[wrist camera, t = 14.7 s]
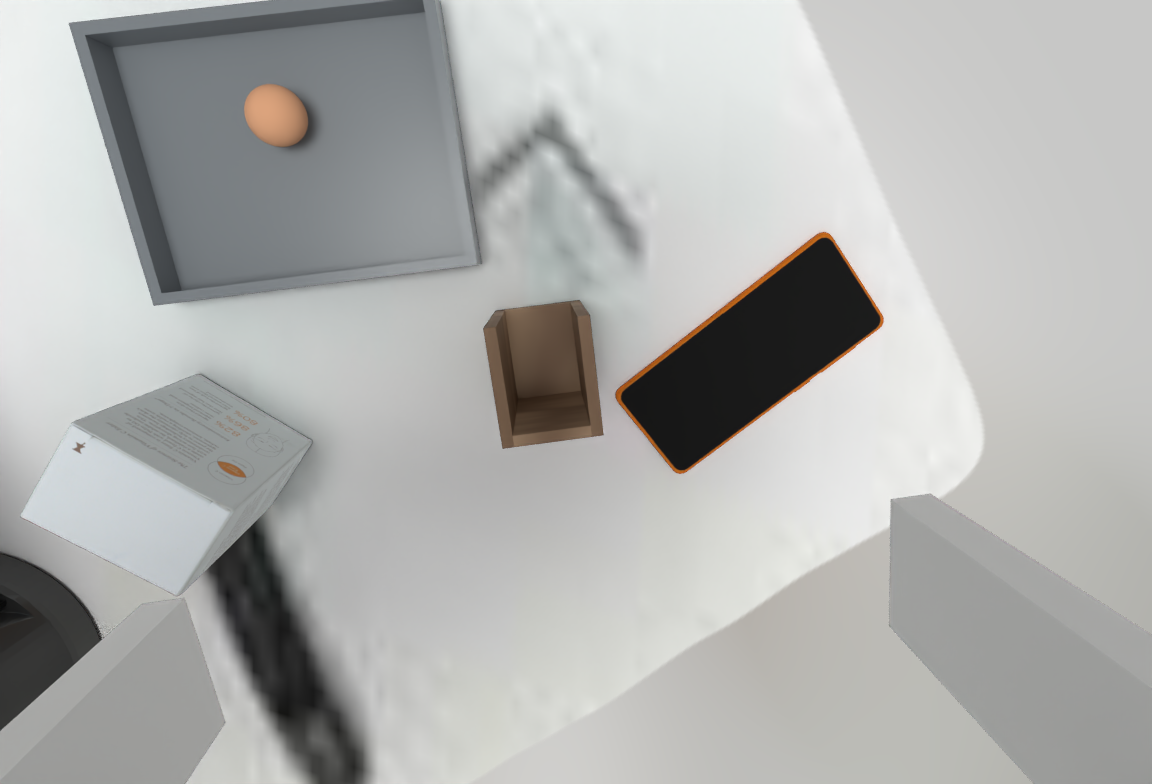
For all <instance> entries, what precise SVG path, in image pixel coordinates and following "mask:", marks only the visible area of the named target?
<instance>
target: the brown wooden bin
mask: <svg viewBox="0 0 1152 784" xmlns="http://www.w3.org/2000/svg"><path fill="white" fill-rule="evenodd" d="M483 330H484V336H485V342H486V348H487V355H488V361H489V367H490V373H491V380H492V386H493V392H494V398H495V404H496V411H497V417H498V423H499V429H500V436H501V442H502V448H503V449H504V448H511V447H519V446H526V445H534V444H541V443H549V442H556V441H564V440H571V439H579V438H586V437H594V436H601V435H603V426H602V417H601V409H600V400H599V391H598V382H597V374H596V365H595V356H594V347H593V339H592V330H591V321H590V315H589V313H588V312H587V310H586V309H585V308H584V306H583V305H582V303H581V302H580V301H579V300H576V301H568V302H561V303H553V304H545V305H537V306H529V307H521V308H513V309H506V310H498V311H495V312H494V314H493V315H492V317H491V318H490V320H489V321H488V322H487V324H486V325H485V327H484V328H483Z"/></svg>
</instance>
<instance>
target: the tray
mask: <svg viewBox="0 0 1152 784" xmlns="http://www.w3.org/2000/svg"><path fill="white" fill-rule="evenodd" d="M69 26H70V29H71V32H72V36H73V39H74V42H75V46H76V49H77V52H78V56H79V59H80V62H81V66H82V69H83V72H84V76H85V79H86V82H87V85H88V89H89V92H90V95H91V99H92V102H93V105H94V109H95V112H96V115H97V119H98V122H99V125H100V129H101V132H102V135H103V139H104V142H105V145H106V149H107V152H108V155H109V159H110V162H111V165H112V169H113V172H114V175H115V179H116V182H117V185H118V189H119V192H120V195H121V199H122V202H123V205H124V209H125V212H126V215H127V219H128V222H129V225H130V229H131V232H132V235H133V238H134V242H135V245H136V248H137V252H138V255H139V258H140V262H141V265H142V268H143V272H144V275H145V278H146V282H147V285H148V288H149V292H150V295H151V298H152V302H153V305H154V306H155V305H163V304H171V303H179V302H187V301H195V300H203V299H211V298H218V297H226V296H234V295H242V294H250V293H258V292H266V291H274V290H282V289H290V288H298V287H306V286H314V285H322V284H330V283H338V282H346V281H354V280H362V279H370V278H377V277H385V276H393V275H401V274H409V273H417V272H425V271H433V270H441V269H449V268H457V267H465V266H473V265H479V264H482V263H481V256H480V250H479V244H478V237H477V231H476V225H475V218H474V212H473V206H472V199H471V193H470V187H469V180H468V174H467V168H466V161H465V155H464V149H463V142H462V136H461V130H460V123H459V117H458V111H457V104H456V98H455V92H454V85H453V79H452V73H451V66H450V60H449V54H448V47H447V41H446V35H445V28H444V22H443V16H442V9H441V3H440V0H269V1H260V2H251V3H242V4H233V5H224V6H215V7H206V8H197V9H188V10H179V11H171V12H162V13H153V14H144V15H135V16H126V17H117V18H108V19H99V20H90V21H81V22H73V23H69ZM265 84H276V85H280V86H283V87H285V88H287V89H289V90H290V91H292V92H293V93H294V94H295V95H296V96H297V97H298V98H299V99H300V100H301V102H302V103H303V105H304V107H305V109H306V112H307V116H308V127H307V131H306V133H305V135H304V137H303V138H302V139H301V140H300V141H299V142H298V143H296V144H294V145H292V146H288V147H277V146H273V145H270V144H267V143H265V142H264V141H262V140H261V139H259V138H258V137H257V136H256V135H255V134H254V133H253V132H252V131H251V129H250V128H249V126H248V124H247V121H246V118H245V114H244V105H245V101H246V98H247V96H248V95H249V93H250V92H251V91H252V90H253V89H255V88H256V87H258V86H261V85H265Z"/></svg>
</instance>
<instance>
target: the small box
mask: <svg viewBox="0 0 1152 784" xmlns="http://www.w3.org/2000/svg"><path fill="white" fill-rule="evenodd" d="M311 444H312V440H310V439H308V438H307V437H305V436H303V435H301V434H300V433H298V432H296V431H295V430H293V429H291V428H290V427H288V426H286V425H285V424H283V423H281V422H280V421H278V420H276V419H274V418H273V417H271V416H269V415H268V414H266V413H264V412H262V411H261V410H259V409H257V408H256V407H254V406H252V405H251V404H249V403H247V402H246V401H244V400H242V399H241V398H239V397H237V396H235V395H234V394H232V393H230V392H229V391H227V390H225V389H224V388H222V387H220V386H218V385H217V384H215V383H213V382H212V381H210V380H208V379H207V378H205V377H203V376H202V375H200V374H196V375H193V376H191V377H188V378H186V379H183V380H181V381H178V382H176V383H173V384H170V385H168V386H165V387H163V388H160V389H158V390H155V391H152V392H150V393H147V394H145V395H142V396H139V397H136V398H134V399H131V400H129V401H126V402H124V403H121V404H118V405H115V406H113V407H110V408H107V409H105V410H102V411H100V412H97V413H95V414H92V415H89V416H87V417H84V418H82V419H79V420H76V421H74V422H72V423H71V425H70V427H69V428H68V430H67V432H66V434H65V436H64V437H63V439H62V441H61V442H60V444H59V446H58V448H57V450H56V451H55V453H54V455H53V457H52V459H51V460H50V462H49V464H48V466H47V467H46V469H45V471H44V473H43V475H42V477H41V478H40V480H39V482H38V484H37V486H36V487H35V489H34V491H33V493H32V494H31V496H30V498H29V500H28V502H27V504H26V506H25V508H24V510H23V511H22V513H21V515H20V517H21V518H23V519H25V520H27V521H29V522H31V523H33V524H35V525H37V526H39V527H41V528H43V529H45V530H47V531H49V532H51V533H53V534H55V535H57V536H59V537H61V538H63V539H65V540H67V541H69V542H71V543H73V544H75V545H77V546H79V547H81V548H83V549H85V550H87V551H89V552H91V553H93V554H95V555H97V556H99V557H101V558H103V559H104V560H106V561H108V562H111V563H113V564H115V565H117V566H118V567H120V568H122V569H124V570H126V571H128V572H130V573H132V574H134V575H136V576H138V577H140V578H142V579H144V580H146V581H148V582H150V583H152V584H154V585H156V586H158V587H160V588H162V589H164V590H165V591H167V592H169V593H171V594H173V595H175V596H179V595H181V594H182V593H183V592H184V591H185V590H186V589H187V588H188V587H189V586H190V585H191V584H192V583H193V582H194V581H196V580H197V579H198V578H199V577H200V576H201V575H202V574H203V573H204V572H205V571H206V570H207V569H208V568H209V567H210V566H211V565H212V564H213V563H214V562H215V561H216V560H217V559H218V558H219V557H220V556H221V555H222V554H223V553H224V552H225V551H226V550H227V549H228V548H229V547H230V546H231V545H232V544H233V543H234V542H235V541H236V540H237V539H238V538H239V537H240V536H241V535H242V534H243V533H244V532H245V531H246V530H247V529H248V528H249V527H250V526H251V525H252V524H253V523H254V522H255V521H256V520H257V519H258V518H259V517H260V516H261V515H262V514H263V513H264V512H265V511H266V510H267V509H268V508H269V507H270V506H271V505H272V504H273V502H274V501H275V499H276V498H277V496H278V495H279V493H280V492H281V490H282V489H283V487H284V486H285V484H286V483H287V481H288V480H289V478H290V476H291V475H292V473H293V472H294V470H295V469H296V467H297V466H298V464H299V463H300V461H301V460H302V458H303V456H304V455H305V453H306V452H307V450H308V448H309V447H310V445H311Z"/></svg>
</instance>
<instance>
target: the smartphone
mask: <svg viewBox="0 0 1152 784" xmlns="http://www.w3.org/2000/svg"><path fill="white" fill-rule="evenodd" d="M883 319H884V318H883V316H882V314H881V312H880V311H879V309H878V308H877V306H876V304H875V303H874V301H873V300H872V298H871V297H870V295H869V294H868V292H867V290H866V289H865V287H864V286H863V284H862V283H861V281H860V279H859V278H858V276H857V275H856V273H855V272H854V270H853V269H852V267H851V265H850V264H849V262H848V261H847V259H846V258H845V256H844V254H843V253H842V251H841V250H840V248H839V247H838V245H837V244H836V242H835V240H834V239H833V237H832V236H831V235H830V234H829V233H826V232H823V233H819V234H817V235H816V236H814V237H813V238H812V239H811V240H809V241H808V242H807V243H805V244H804V245H803V246H802V247H800V248H799V249H798V250H796V251H795V252H794V253H793V254H791V255H790V256H789V257H787V258H786V259H785V260H784V261H782V262H781V263H780V264H778V265H777V266H776V267H775V268H773V269H772V270H771V271H769V272H768V273H767V274H766V275H764V276H763V277H762V278H760V279H759V280H758V281H756V282H755V283H754V284H753V285H751V286H750V287H749V288H747V289H746V290H745V291H744V292H742V293H741V294H740V295H738V296H737V297H736V298H735V299H733V300H732V301H731V302H729V303H728V304H727V305H726V306H724V307H723V308H722V309H720V310H719V311H718V312H717V313H715V314H714V315H713V316H711V317H710V318H709V319H707V320H706V321H705V322H704V323H702V324H701V325H700V326H698V327H697V328H696V329H695V330H693V331H692V332H691V333H689V334H688V335H687V336H686V337H684V338H683V339H682V340H680V341H679V342H678V343H677V344H675V345H674V346H673V347H671V348H670V349H669V350H668V351H666V352H665V353H664V354H662V355H661V356H660V357H658V358H657V359H656V360H655V361H653V362H652V363H651V364H649V365H648V366H647V367H646V368H644V369H643V370H642V371H640V372H639V373H638V374H637V375H635V376H634V377H633V378H631V379H630V380H629V381H628V382H626V383H625V384H624V385H622V386H621V387H620V388H619V389H618V390H617V392H616V399H617V401H618V403H619V404H620V405H621V406H622V408H623V409H624V410H625V411H626V413H627V414H628V415H629V416H630V418H631V419H632V420H633V421H634V423H635V424H636V425H637V426H638V427H639V429H640V430H641V431H642V432H643V433H644V435H645V436H646V437H647V438H648V440H649V441H650V442H651V444H652V445H653V446H654V447H655V449H656V450H657V451H658V452H659V453H660V455H661V456H662V457H663V458H664V460H665V461H666V462H667V463H668V465H669V466H670V467H671V468H672V469H673V471H675V472H676V473H679V474H681V473H685V472H687V471H688V470H690V469H691V468H692V467H694V466H695V465H696V464H698V463H699V462H700V461H702V460H703V459H704V458H706V457H707V456H708V455H710V454H711V453H712V452H714V451H715V450H716V449H718V448H719V447H721V446H722V445H723V444H725V443H726V442H727V441H729V440H730V439H731V438H733V437H734V436H735V435H737V434H738V433H739V432H741V431H742V430H743V429H745V428H746V427H747V426H749V425H750V424H751V423H753V422H754V421H756V420H757V419H758V418H760V417H761V416H762V415H764V414H765V413H766V412H768V411H769V410H770V409H772V408H773V407H774V406H776V405H777V404H778V403H780V402H781V401H782V400H784V399H785V398H786V397H788V396H789V395H791V394H792V393H793V392H796V391H797V390H799V389H800V388H801V387H803V386H804V385H805V384H807V383H808V382H809V381H810V380H811V379H812V378H813V377H815V376H816V375H817V374H819V373H821V372H823V371H824V370H826V369H827V368H828V367H830V366H831V365H832V364H834V363H835V362H836V361H838V360H839V359H840V358H842V357H843V356H844V355H846V354H847V353H849V352H850V351H851V350H853V349H854V348H855V347H856V345H858V344H859V343H861V342H862V341H863V340H865V339H866V338H867V337H869V336H870V335H871V334H873V333H874V332H875V331H877V330H878V329H879V328H880V327H881V326H882V324H883Z"/></svg>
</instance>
